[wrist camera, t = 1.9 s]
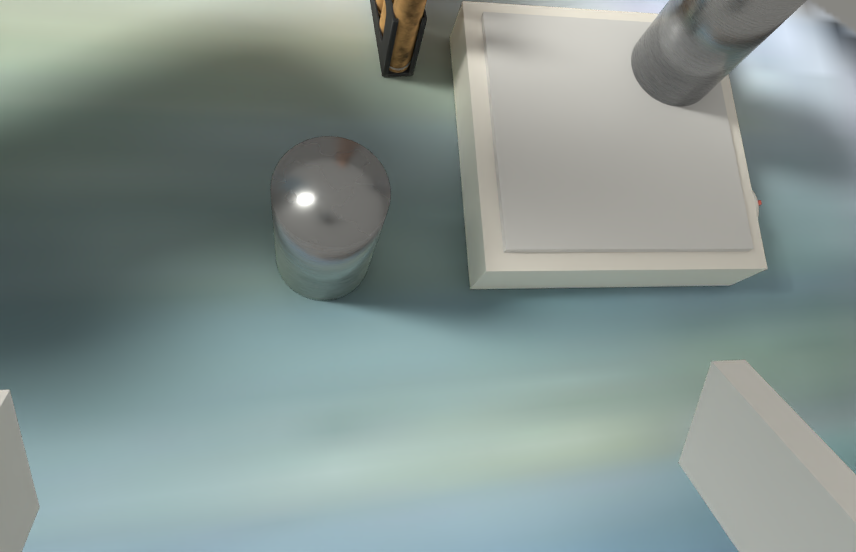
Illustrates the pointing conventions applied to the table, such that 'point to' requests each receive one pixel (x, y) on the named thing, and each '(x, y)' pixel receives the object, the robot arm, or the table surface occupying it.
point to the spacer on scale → (702, 44)
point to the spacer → (327, 215)
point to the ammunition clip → (398, 34)
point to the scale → (591, 159)
